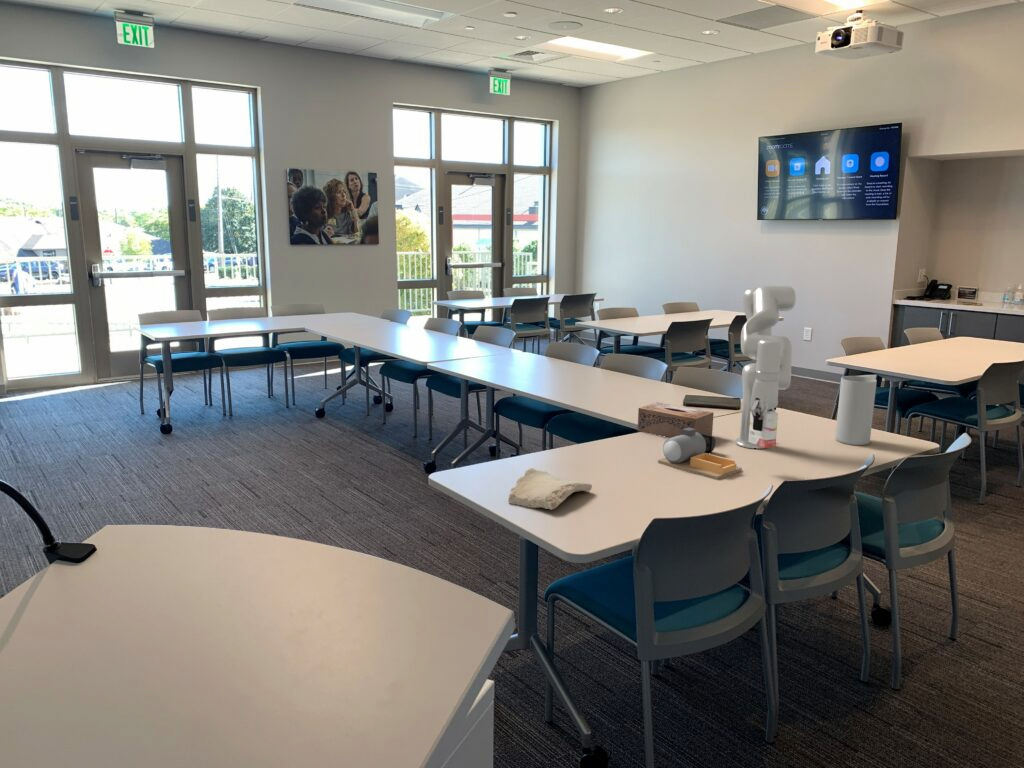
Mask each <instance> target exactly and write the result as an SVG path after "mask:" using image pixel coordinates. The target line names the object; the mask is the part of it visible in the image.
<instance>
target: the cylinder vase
mask: <svg viewBox="0 0 1024 768" xmlns="http://www.w3.org/2000/svg"><path fill="white" fill-rule="evenodd" d="M876 390H877V379H875V378H872V377H867V376H860V375H859V376H857V375H846V376H841V378H840V385H839V395H838V396H839V399H838V405H837V407H838V408H837V416H836V427H835V435H834V436H835V437H834V438H835V440H836V441H837V442H839V443H842V444H846V445H851V446H866V445H868V444H870V442H871V436H872V428H873V427H872V426H873V417H874V408H875V407H874V406H875V401H876V399H875V398H876Z"/></svg>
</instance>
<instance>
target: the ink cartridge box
mask: <svg viewBox="0 0 1024 768" xmlns="http://www.w3.org/2000/svg"><path fill="white" fill-rule="evenodd" d="M758 409H759V410H761V408H758ZM757 412H758V411H757ZM758 413H759V415H760V412H758ZM778 417H779V413H778V412H776V411H775V412H772V411H770V410H768V405H766V408H765V411H763V416H762V419H763V426H762V431H757V430H753V415H752V412H751V413H750V428H749V442H751V443H753V444H755V445H758V446H760V447H763V448H762V449H767V448H775V447H776V445H777V435H778V434H777V433H778V432H777V431H778Z"/></svg>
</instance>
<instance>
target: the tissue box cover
mask: <svg viewBox="0 0 1024 768" xmlns="http://www.w3.org/2000/svg"><path fill="white" fill-rule="evenodd" d="M637 411H638V412H637V415H638V416H637V432H639V433H645V434H649V433H652V434H651V435H653V434H656V435H655V436H658V435H661V436H660V437H663V436H665V437H664V438H667V437H669V438H672V437H676V436H679V435H682V429H685V428H688V427H689V428H694V429H696V432H698V433H700V434H704V435H709V436H713V429H714V428H713V427H714V426H713V425H714V415H715V414H714V412H712V411H708V410H703V409H697V408H691V407H686V406H680V405H676V404H675V405H674V404H670V403H664V402H659V401H658V402H653V403H650V404H647V405H644V406H640V407H638V410H637ZM669 438H668V439H669Z"/></svg>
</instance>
